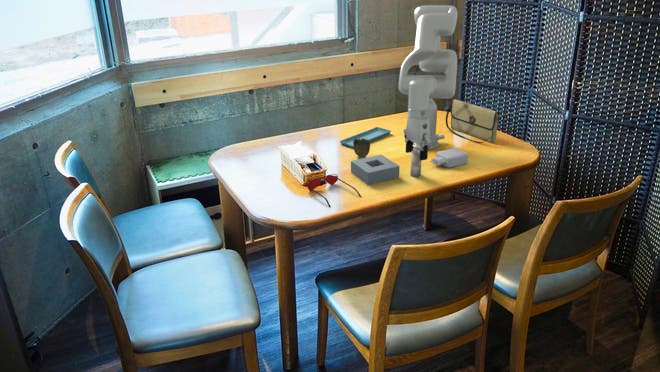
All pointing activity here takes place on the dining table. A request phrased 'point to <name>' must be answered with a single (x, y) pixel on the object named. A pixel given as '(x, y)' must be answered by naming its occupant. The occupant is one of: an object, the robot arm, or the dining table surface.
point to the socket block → (375, 169)
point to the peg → (415, 163)
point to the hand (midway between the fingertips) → (416, 155)
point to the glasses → (329, 179)
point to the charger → (450, 158)
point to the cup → (361, 147)
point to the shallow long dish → (366, 136)
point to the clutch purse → (473, 121)
